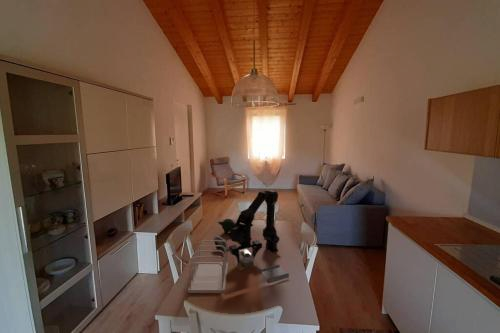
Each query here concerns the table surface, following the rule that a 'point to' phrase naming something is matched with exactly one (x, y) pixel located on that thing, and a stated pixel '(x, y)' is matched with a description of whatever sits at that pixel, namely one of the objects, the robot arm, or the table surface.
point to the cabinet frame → (274, 273)
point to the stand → (242, 266)
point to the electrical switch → (220, 243)
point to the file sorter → (208, 272)
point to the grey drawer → (245, 258)
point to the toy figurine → (228, 225)
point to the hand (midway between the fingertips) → (245, 260)
